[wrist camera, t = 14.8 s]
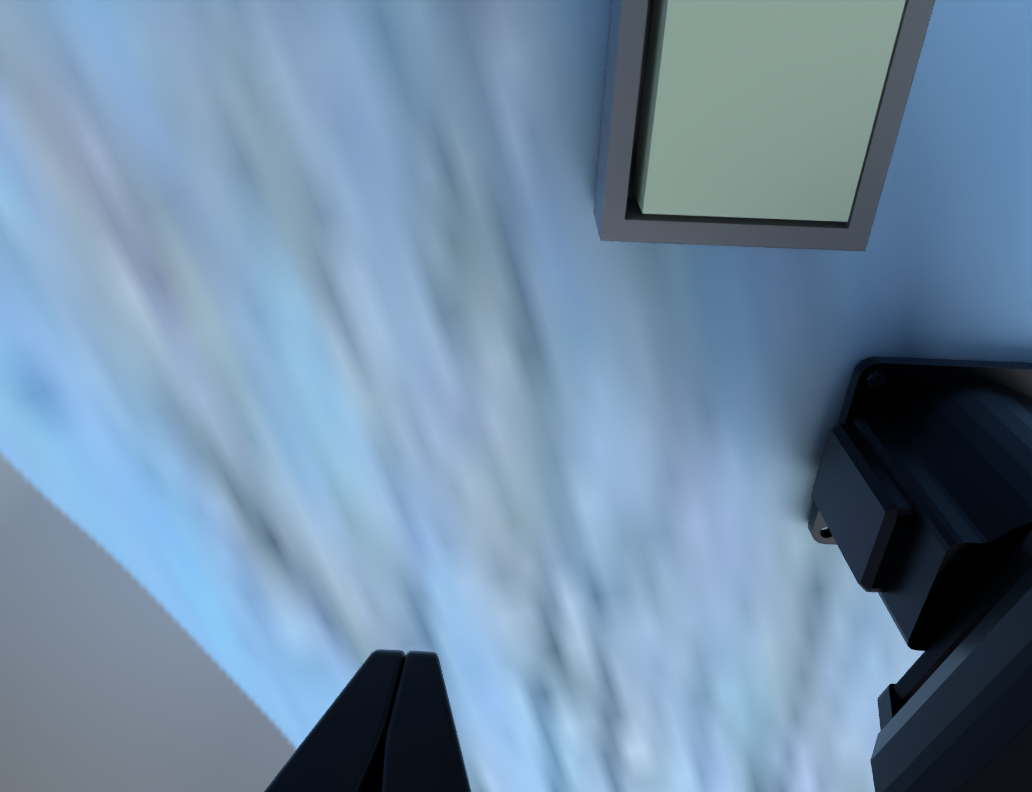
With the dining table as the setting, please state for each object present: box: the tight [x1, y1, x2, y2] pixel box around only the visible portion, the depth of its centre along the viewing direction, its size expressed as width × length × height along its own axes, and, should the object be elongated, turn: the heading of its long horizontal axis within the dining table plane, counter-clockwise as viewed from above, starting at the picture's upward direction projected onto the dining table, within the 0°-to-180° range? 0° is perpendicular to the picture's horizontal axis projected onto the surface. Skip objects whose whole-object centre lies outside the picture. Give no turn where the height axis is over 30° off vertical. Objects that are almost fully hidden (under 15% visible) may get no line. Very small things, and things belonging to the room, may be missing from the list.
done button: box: [632, 0, 906, 222], centre depth 15 cm, size 4×4×2 cm
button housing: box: [594, 0, 935, 251], centre depth 16 cm, size 6×6×2 cm
